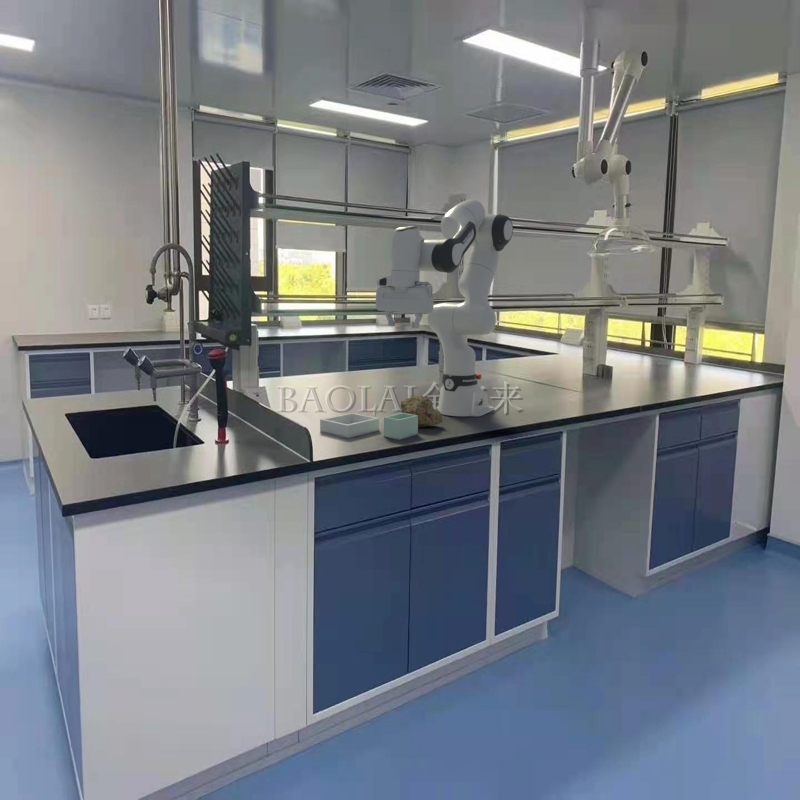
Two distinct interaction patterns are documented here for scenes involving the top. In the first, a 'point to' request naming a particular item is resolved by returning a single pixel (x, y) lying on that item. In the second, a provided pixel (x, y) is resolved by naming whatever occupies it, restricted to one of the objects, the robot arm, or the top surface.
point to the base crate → (349, 425)
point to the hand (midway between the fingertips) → (403, 327)
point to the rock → (421, 410)
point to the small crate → (400, 426)
